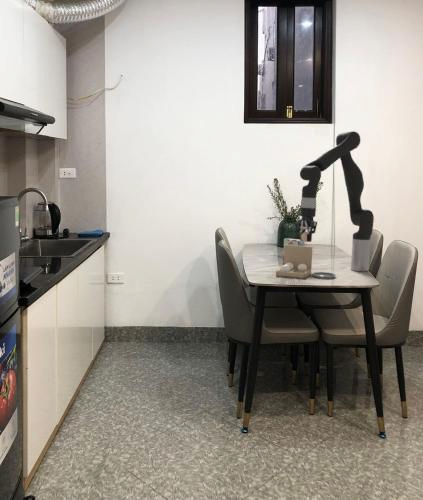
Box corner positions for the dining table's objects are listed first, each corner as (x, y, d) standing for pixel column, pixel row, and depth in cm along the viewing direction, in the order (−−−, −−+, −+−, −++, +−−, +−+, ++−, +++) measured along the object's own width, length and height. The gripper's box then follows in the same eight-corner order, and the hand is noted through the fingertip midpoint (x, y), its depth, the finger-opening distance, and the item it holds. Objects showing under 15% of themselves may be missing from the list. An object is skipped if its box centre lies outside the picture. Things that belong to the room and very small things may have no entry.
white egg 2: (285, 270, 255) (285, 261, 255) (294, 271, 253) (295, 262, 253) (283, 272, 251) (283, 262, 250) (292, 273, 249) (292, 263, 248)
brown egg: (301, 240, 243) (302, 231, 243) (311, 241, 241) (312, 231, 241) (299, 241, 239) (300, 231, 238) (309, 242, 237) (310, 232, 236)
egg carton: (283, 270, 258) (284, 245, 256) (311, 273, 252) (312, 247, 250) (276, 276, 244) (276, 248, 242) (304, 278, 238) (306, 251, 236)
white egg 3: (298, 271, 253) (298, 262, 252) (307, 272, 251) (308, 263, 250) (296, 273, 248) (296, 263, 247) (305, 274, 246) (306, 264, 245)
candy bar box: (303, 269, 262) (305, 240, 259) (297, 270, 259) (299, 240, 256) (288, 266, 270) (289, 237, 268) (282, 267, 267) (283, 238, 265)
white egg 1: (282, 272, 249) (282, 263, 248) (291, 273, 247) (291, 264, 246) (279, 274, 245) (279, 265, 244) (289, 275, 243) (289, 265, 242)
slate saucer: (315, 273, 251) (315, 271, 251) (336, 275, 247) (336, 273, 246) (310, 277, 241) (310, 275, 241) (333, 279, 237) (333, 277, 236)
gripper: (293, 205, 243) (291, 239, 245) (310, 207, 230) (307, 242, 232) (306, 206, 246) (304, 239, 248) (323, 207, 232) (320, 242, 235)
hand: (305, 240), depth 240 cm, fingers closed on brown egg, 5 cm apart
